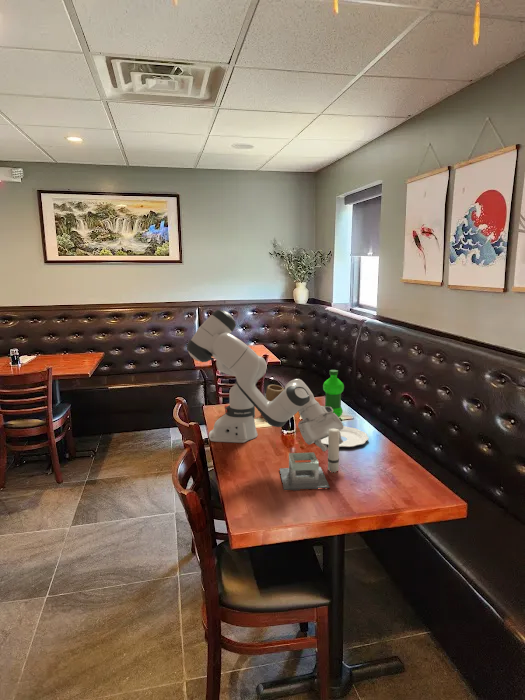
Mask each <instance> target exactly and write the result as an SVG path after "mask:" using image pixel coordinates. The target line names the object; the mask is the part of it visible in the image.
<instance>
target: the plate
mask: <svg viewBox="0 0 525 700" xmlns="http://www.w3.org/2000/svg"><path fill="white" fill-rule="evenodd" d="M340 434H341V438H346V440H344V441H343V443H341V444H339V448H354V447H358V446H362V445H364V444H366V442H368V441H369V439H370V438H369V436H368V434H367V433H366V432H365V431H362V430H360V429H359V428H356V427H349V426H345V425H343V429H342V430H341V431H340ZM328 437H329V436H328ZM328 437H326V438H324V439H321V443H323V444H324V445H326V446H328Z"/></svg>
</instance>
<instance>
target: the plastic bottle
mask: <svg viewBox="0 0 525 700" xmlns="http://www.w3.org/2000/svg"><path fill="white" fill-rule="evenodd" d="M329 375H330V377H329V378H328V379H326V380H325V381H324V382H323V384H322V390H323V392H324V395H325V397H324V398H325V399H324V406H326V407H332V409H333V412H332V413H335V414H336V415H337V416H338V418H339V419H340V418H341V416H342V414H344V413H343V412H344V411H343V408H342V404H341V403H342V393H343V392H344V389H345V385H344V382H342V381H341V380H340V379H339V378H338V375H339V370H337V369H330V370H329Z"/></svg>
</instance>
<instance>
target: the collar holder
mask: <svg viewBox="0 0 525 700" xmlns="http://www.w3.org/2000/svg"><path fill="white" fill-rule="evenodd" d="M296 461H298V462H296ZM299 461H300V462H299ZM301 461H302V462H301ZM304 461H305V462H304ZM279 470H280V471H279V475H280V474H281V475H280V478H281V482H282V483H283V484H282V488H283V491H284V490H293V491H301V490H300V489H318V488H330V484H329V482H328V480H327V478H326V475H325V473H324V471H323V469H322V467H321V466H320V464H319V460H318V458H317V456H316V454H315V452H311V451H310V452H289V453H288V467H284V468H282V467H281V468H279Z"/></svg>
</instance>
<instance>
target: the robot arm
mask: <svg viewBox="0 0 525 700" xmlns="http://www.w3.org/2000/svg"><path fill="white" fill-rule="evenodd" d="M236 326H237V323H236V320H235V319H234V316H232V314H231V313H229V312H228V311H227V310H223V309H216V310H214V312H212V313H211V315H210V316H209V317H208V318H207V319H205V321H203V323H202V324H201V325H200V326H199V327H198V329H197V330H196V331H195V333H194V335H193V336H192V338H191V339H189V341H188V342H187V345H186V351H187V352H188V354H189V356H190V357H191V358H192V359H193V360H194V361H196V362H197V361H198V362H201V363H206V362H207V363H208V362H209V361H214V360H216V362H215V365H216V368H217V370H218V371H219V372H220V373H223V374H225V375H227V376H231V377H232V376H234V377H235V384H236V385H235V384H234V385H232V387H231V388H230V389H229V392H228V394H229V395H228V396H229V404H224V406H223V407H224V410H225V412H224V414H223V415H222V416H220V417H219V418H218V419H217V420H215V423H214V425H213V429H211V430H210V431H209V433H208V439H209V441H211V442H215V443H217V442H218V443H239V444H242V443H247V442H248V441H251V440H253V439H256V438H257V437H258V430H257V427H256V421H255V417H256V409H257V411H258V412H259V413H260V414H261V416H262V417H263V419H264V420H265V422H266V423H267V424H268V425H270V427H275V428H282V427H283V426H284V425H286V424H287V422H288V421H289V420H290V419H291V418H292V417H294V416H295V415H296V414H297V413H298V414H299V416H300V418H301V419H302V420H299V422H298V424H297V427H298V429H299V431H300V434H301V437H302V438H303V441H304V442H305V443H306V444H307V445H308V446H309V445H312V444H315V446H317V447H318V448H320V449H321V451H322V452H326V451H328V445H324V444H323V443H321V439H324V438H326V437H328V436H329V429H338V430H339V444H341V443H343V439H342V436H341V434H340V431H341V430H342V429H343V426H344V424H343V422H342V421H341V419H340V417H339V418H338V416H337V415H336V414H335V413H332V412H333V409H332V407H326V406H325V405H321V404H320V403H319V401H317V400H316V399H315V396H314V394H313V392H312V391H311V389H310V388H309V386H308V385H307V384H306V383H305V382H304V381H303V380H302V379H300V378H293V379H292V380H290V381H288V382H287V383H286V384H285V386H284V390H283V391H282V392H281V393H280V394H279V395H278V396H277V397H276V398H275V399H274V400H273V401H268V400H267V399H266V396H265V395H263V393H262V392H261V391H260V389H258V387H257V386H256V385H257V383H258V381H259V380H260V379H261V378H263V377H264V375H265V374H266V372H267V369H268V366H267V365H268V364H267V362H266V360H265V358H264V357H262V356H260V355H258V354H257V352H255V351H254V350H253V349H252V347H250V346H249V345H248V344H246V343H245V342H244V341H242V340H241V339H239V338H238V337H236V336H235V335H233V334H231V333H233V332H234V331H235V328H236Z"/></svg>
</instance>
